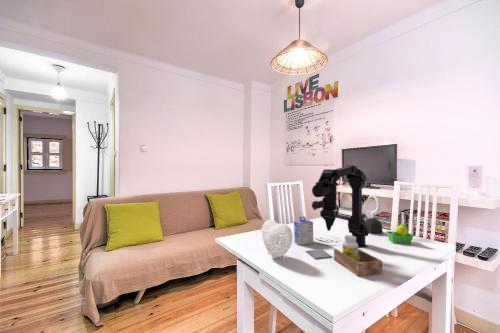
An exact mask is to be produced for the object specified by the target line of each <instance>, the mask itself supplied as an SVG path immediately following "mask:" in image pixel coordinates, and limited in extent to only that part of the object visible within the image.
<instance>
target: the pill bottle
mask: <svg viewBox="0 0 500 333" xmlns="http://www.w3.org/2000/svg"><path fill="white" fill-rule="evenodd" d="M355 241H356V237H355V236H352V234H349V235H345V236H344V241H343V242H342V253H344V254H346V255H347V256H349V257H351V258H352V259H354V260H356V261H357V262H359V261H358V249H359V247H358V244H357V243H356V242H355Z"/></svg>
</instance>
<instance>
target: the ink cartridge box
mask: <svg viewBox="0 0 500 333" xmlns="http://www.w3.org/2000/svg"><path fill="white" fill-rule="evenodd" d="M293 234H294V235H293V237H294V242H293V243H294V244H296V245H297V246H302V245H309V244H310V245H311V244H314V222H313V221H312V220H310V219H306V216H300V217H299V220H297V221H296V220H295V221H293Z"/></svg>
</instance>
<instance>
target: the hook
mask: <svg viewBox="0 0 500 333" xmlns="http://www.w3.org/2000/svg"><path fill="white" fill-rule="evenodd" d="M371 198H374V200H375V201H376V202H375V203H376V208H375V209H374V210H372V211H371V213H370V217H369V218H366V220H365V226H366V227H367V229H368V231H369V234H368V235H371V236H382V235H383V234H384V232H383V224H382V223H381V221H380V220H379V219H378V218H375V216H376V213H379V211H380V210H381V201H380V198H379V196H378V195H376V194H369V196H368V197H367V203H369V201H370V199H371Z"/></svg>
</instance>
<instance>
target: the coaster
mask: <svg viewBox="0 0 500 333" xmlns="http://www.w3.org/2000/svg"><path fill="white" fill-rule="evenodd" d="M305 253H307V254H308V255H309V256H310V257H311V258H312V259H314V260H319V259H320V260H322V259H331V258H333V256H332V255H331V254H330V253H328V252H327V251H325V250H323V249H322V248H321V249H311V250H306V251H305Z"/></svg>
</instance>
